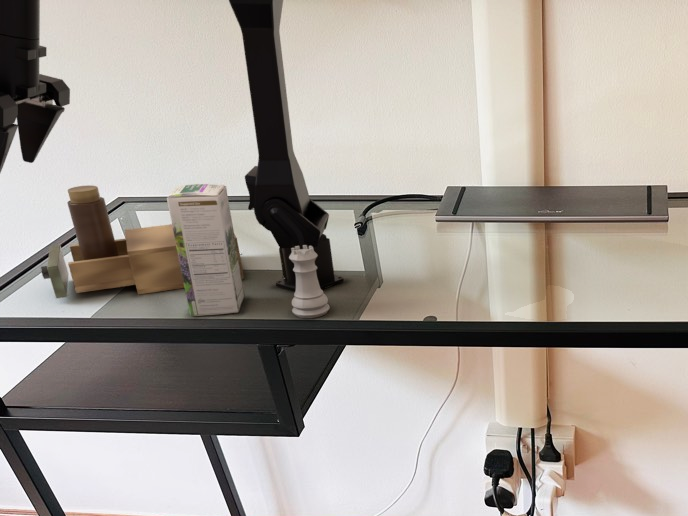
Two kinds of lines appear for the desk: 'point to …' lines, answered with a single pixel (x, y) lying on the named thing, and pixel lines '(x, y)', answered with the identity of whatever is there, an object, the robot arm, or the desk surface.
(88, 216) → the pepper mill
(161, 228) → the drawer unit
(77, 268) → the drawer
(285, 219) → the robot arm
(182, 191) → the syrup box
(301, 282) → the rook chess piece
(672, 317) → the desk surface
